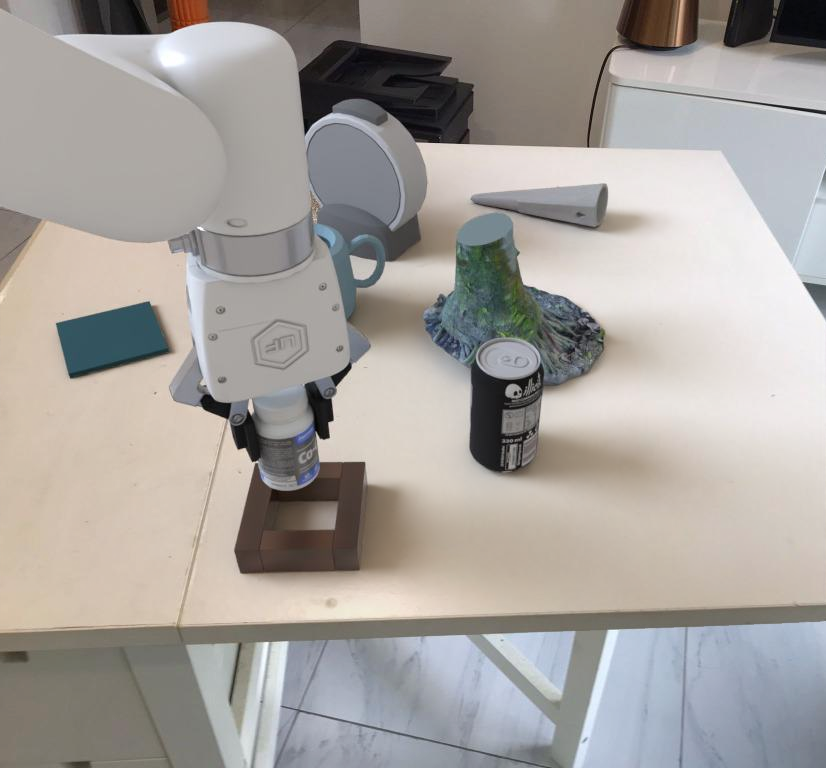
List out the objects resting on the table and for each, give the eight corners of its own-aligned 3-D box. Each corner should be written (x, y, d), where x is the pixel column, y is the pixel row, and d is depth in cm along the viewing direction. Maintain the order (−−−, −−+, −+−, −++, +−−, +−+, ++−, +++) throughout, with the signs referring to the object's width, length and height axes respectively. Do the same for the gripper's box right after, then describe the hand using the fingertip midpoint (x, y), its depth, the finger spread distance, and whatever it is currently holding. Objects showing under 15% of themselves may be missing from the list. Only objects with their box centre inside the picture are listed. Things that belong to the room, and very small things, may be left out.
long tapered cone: (487, 194, 123) (608, 210, 117) (471, 217, 119) (595, 234, 113) (483, 161, 119) (608, 175, 113) (466, 183, 115) (595, 199, 109)
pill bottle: (314, 494, 64) (303, 415, 58) (254, 491, 64) (238, 411, 58) (325, 452, 67) (316, 374, 62) (268, 449, 67) (255, 371, 62)
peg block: (239, 573, 66) (233, 550, 65) (260, 485, 74) (254, 462, 72) (359, 570, 67) (357, 547, 65) (367, 483, 75) (365, 461, 73)
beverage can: (478, 424, 82) (481, 329, 74) (541, 435, 81) (551, 340, 73) (461, 469, 77) (463, 373, 69) (529, 482, 76) (538, 386, 68)
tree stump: (620, 394, 87) (601, 261, 75) (440, 428, 88) (393, 303, 76) (594, 292, 100) (575, 164, 88) (438, 323, 102) (398, 202, 89)
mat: (70, 378, 84) (68, 373, 83) (57, 327, 90) (55, 322, 90) (169, 352, 88) (168, 347, 87) (150, 305, 94) (149, 300, 94)
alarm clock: (439, 236, 110) (438, 105, 98) (398, 271, 103) (391, 133, 91) (343, 205, 115) (331, 77, 103) (296, 236, 108) (278, 102, 96)
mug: (373, 275, 102) (368, 203, 95) (402, 322, 94) (399, 248, 88) (253, 299, 96) (239, 224, 90) (274, 351, 89) (260, 275, 82)
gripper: (124, 292, 46) (185, 508, 57) (400, 234, 53) (404, 436, 64) (102, 232, 50) (162, 442, 62) (357, 187, 58) (368, 382, 69)
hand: (285, 437), depth 63 cm, fingers closed on pill bottle, 4 cm apart
